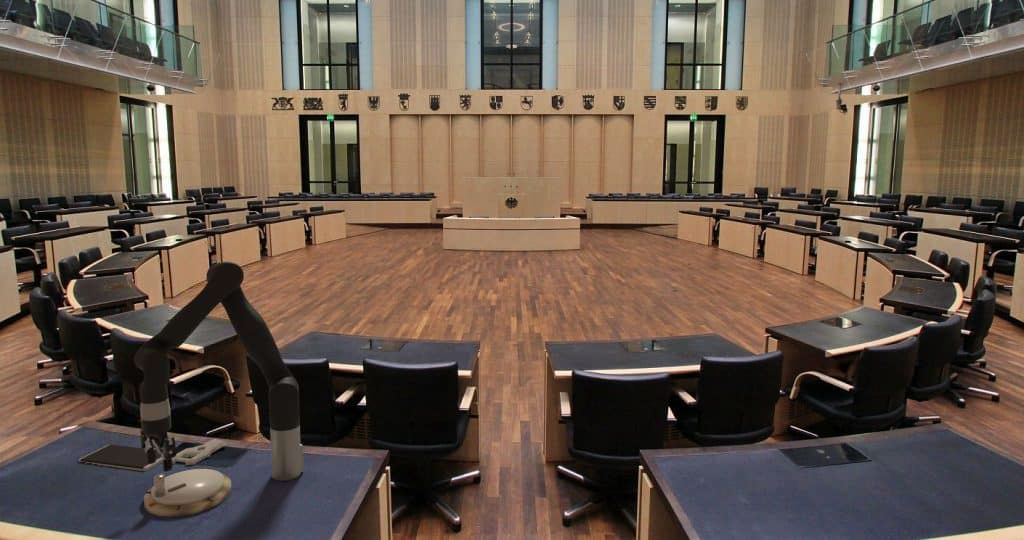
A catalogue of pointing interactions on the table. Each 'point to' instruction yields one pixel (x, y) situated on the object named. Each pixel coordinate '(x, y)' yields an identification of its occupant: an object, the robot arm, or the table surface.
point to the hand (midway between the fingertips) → (159, 466)
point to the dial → (186, 486)
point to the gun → (198, 452)
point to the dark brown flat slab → (122, 457)
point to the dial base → (188, 508)
